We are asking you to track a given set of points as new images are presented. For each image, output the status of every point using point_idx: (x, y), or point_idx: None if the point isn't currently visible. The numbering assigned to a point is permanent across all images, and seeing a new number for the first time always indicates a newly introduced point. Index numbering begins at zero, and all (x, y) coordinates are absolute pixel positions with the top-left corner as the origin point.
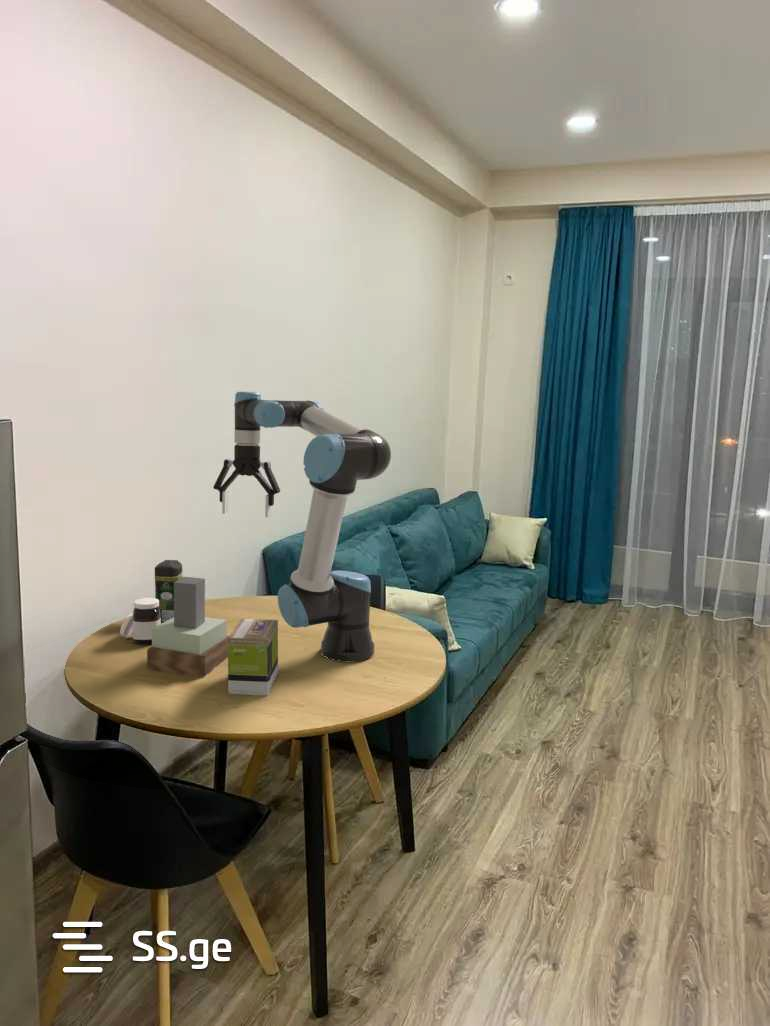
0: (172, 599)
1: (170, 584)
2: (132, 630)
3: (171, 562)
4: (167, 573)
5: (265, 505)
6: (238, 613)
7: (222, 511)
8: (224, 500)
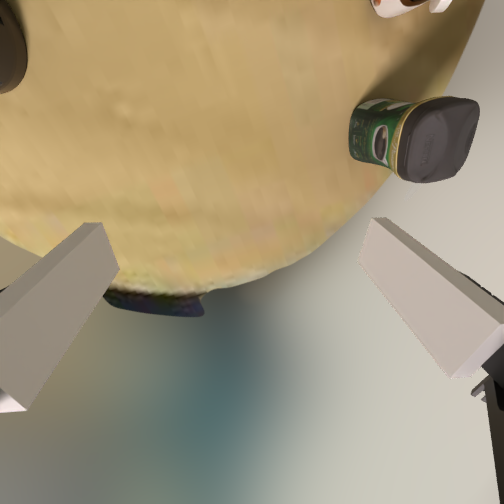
0: (383, 108)
1: (408, 107)
2: (431, 1)
3: (442, 147)
4: (437, 101)
5: (51, 269)
6: (266, 198)
7: (392, 223)
8: (434, 266)
